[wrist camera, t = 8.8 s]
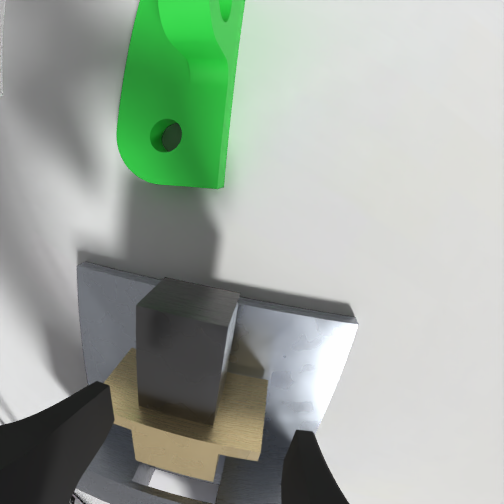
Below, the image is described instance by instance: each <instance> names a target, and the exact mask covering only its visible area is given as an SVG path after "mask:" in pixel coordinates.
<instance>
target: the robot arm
mask: <svg viewBox="0 0 504 504" xmlns="http://www.w3.org/2000/svg"><path fill="white" fill-rule="evenodd" d="M114 420H115V418H114V412H113V406H112V399H111V392H110V385H107V384H104V383H101V382H99V381H95V382H94V383H92V384H90V385H88V386H87V387H85V388H83V389H82V390H80V391H78V392H76V393H75V394H73V395H71V396H70V397H68V398H66V399H64V400H62V401H61V402H59V403H57V404H55V405H53V406H51V407H49V408H47V409H45V410H43V411H41V412H39V413H37V414H35V415H32V416H30V417H27V418H24V419H22V420H19V421H16V422H13V423H9V424H5V425H1V426H0V504H69V502H70V499H71V497H72V495H73V493H74V491H75V488H76V486H77V484H78V482H79V480H80V479H81V477H82V475H83V474H84V472H85V471H86V469H87V468H88V466H89V464H90V463H91V461H92V460H93V458H94V457H95V455H96V454H97V452H98V451H99V449H100V448H101V446H102V444H103V443H104V441H105V440H106V438H107V436H108V434H109V432H110V429H111V427H112V425H113V423H114ZM281 504H349V502H348V501H347V499H346V498H345V496H344V495H343V493H342V492H341V490H340V488H339V487H338V485H337V483H336V481H335V479H334V478H333V476H332V474H331V472H330V470H329V468H328V466H327V464H326V461H325V459H324V457H323V455H322V452H321V450H320V448H319V445H318V443H317V440H316V437H315V434H314V433H313V431H305V430H296V431H295V434H294V436H293V439H292V441H291V444H290V446H289V449H288V451H287V453H286V456H285V458H284V461H283V470H282V479H281Z"/></svg>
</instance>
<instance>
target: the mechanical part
mask: <svg viewBox="0 0 504 504" xmlns="http://www.w3.org/2000/svg"><path fill="white" fill-rule="evenodd" d="M244 5H245V0H140V2H139V6H138V10H137V14H136V18H135V22H134V27H133V31H132V36H131V41H130V45H129V50H128V56H127V61H126V67H125V72H124V78H123V85H122V92H121V99H120V106H119V114H118V123H117V145H118V149H119V152H120V155H121V157H122V159H123V161H124V163H125V164H126V166H127V167H128V168H129V169H130V170H131V171H132V172H133V173H134V174H135V175H136V176H138V177H139V178H141V179H143V180H145V181H147V182H150V183H154V184H160V185H173V186H187V187H200V188H211V189H219V188H222V187H224V178H225V168H226V157H227V147H228V137H229V127H230V117H231V108H232V99H233V90H234V82H235V73H236V65H237V57H238V49H239V41H240V34H241V26H242V19H243V12H244ZM174 123H178V124H179V126H180V128H181V131H182V138H181V141H180V143H179V145H178V146H177V147H176V148H175V149H174V150H172V151H170V152H168V151H167V150H166V149H165V148H164V146H163V144H162V135H163V133H164V131H165V129H166V128H167V127H168V126H170V125H172V124H174Z"/></svg>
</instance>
